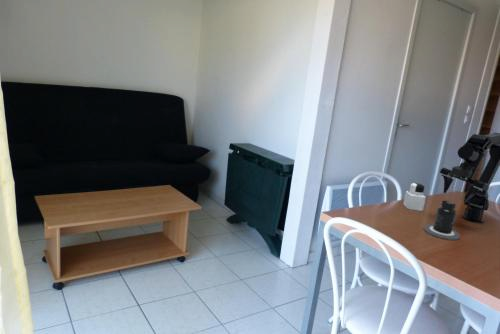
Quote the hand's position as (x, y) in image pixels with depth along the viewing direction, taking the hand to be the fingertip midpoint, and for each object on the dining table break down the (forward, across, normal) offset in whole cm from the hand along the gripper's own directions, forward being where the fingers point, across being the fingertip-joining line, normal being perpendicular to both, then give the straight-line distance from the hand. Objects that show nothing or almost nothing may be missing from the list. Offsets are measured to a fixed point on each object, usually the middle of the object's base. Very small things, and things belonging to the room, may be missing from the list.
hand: (454, 197), depth 156 cm
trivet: (+15, +7, -11) cm, 20 cm away
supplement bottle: (+14, +7, -11) cm, 19 cm away
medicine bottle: (+13, -18, +7) cm, 24 cm away
